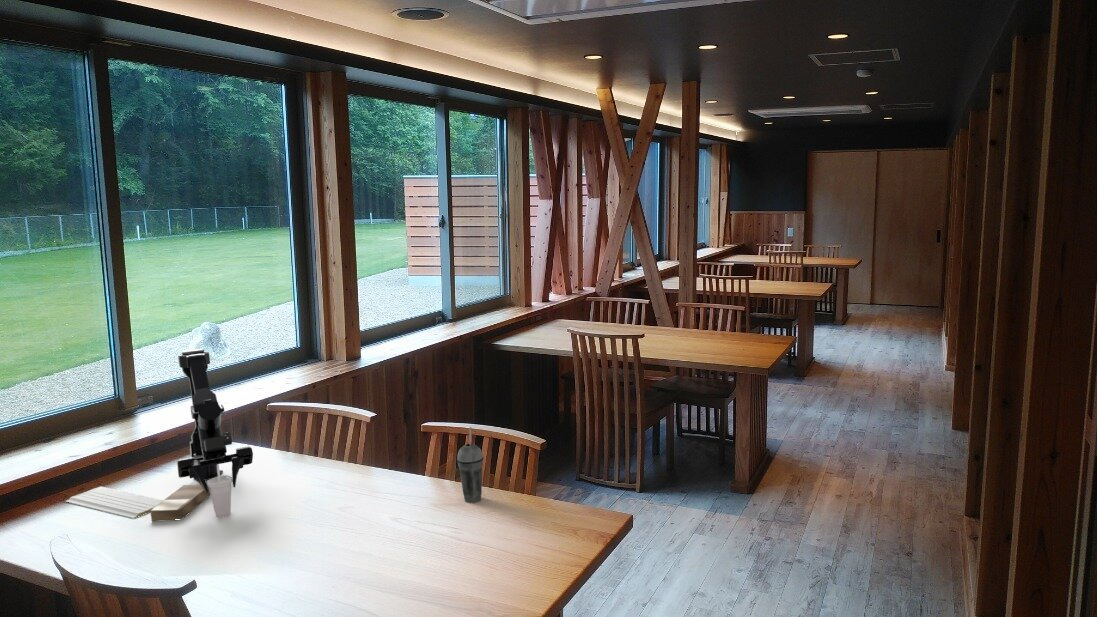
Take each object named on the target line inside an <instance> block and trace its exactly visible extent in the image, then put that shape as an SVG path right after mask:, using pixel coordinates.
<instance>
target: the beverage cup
mask: <svg viewBox="0 0 1098 617" xmlns="http://www.w3.org/2000/svg"><path fill="white" fill-rule="evenodd" d="M456 457H457V458H456V461H457V465H458V468H459V476H460V481H461V487H462V493H463V494H462V495H463V499H464V502H466V503H469V504H475V503H478V502H481V500H482V492H483V490H482V486H483V483H482V482H483V466H484V465H483V464H484V459H485V458H484V454H483V451H482V449H481V447H479V446H478V445H476V444H474V443H472V427H470V426H469V443H466V444H464V445H463V446H462V447H460V448H459V450H458V453H457V455H456Z"/></svg>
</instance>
